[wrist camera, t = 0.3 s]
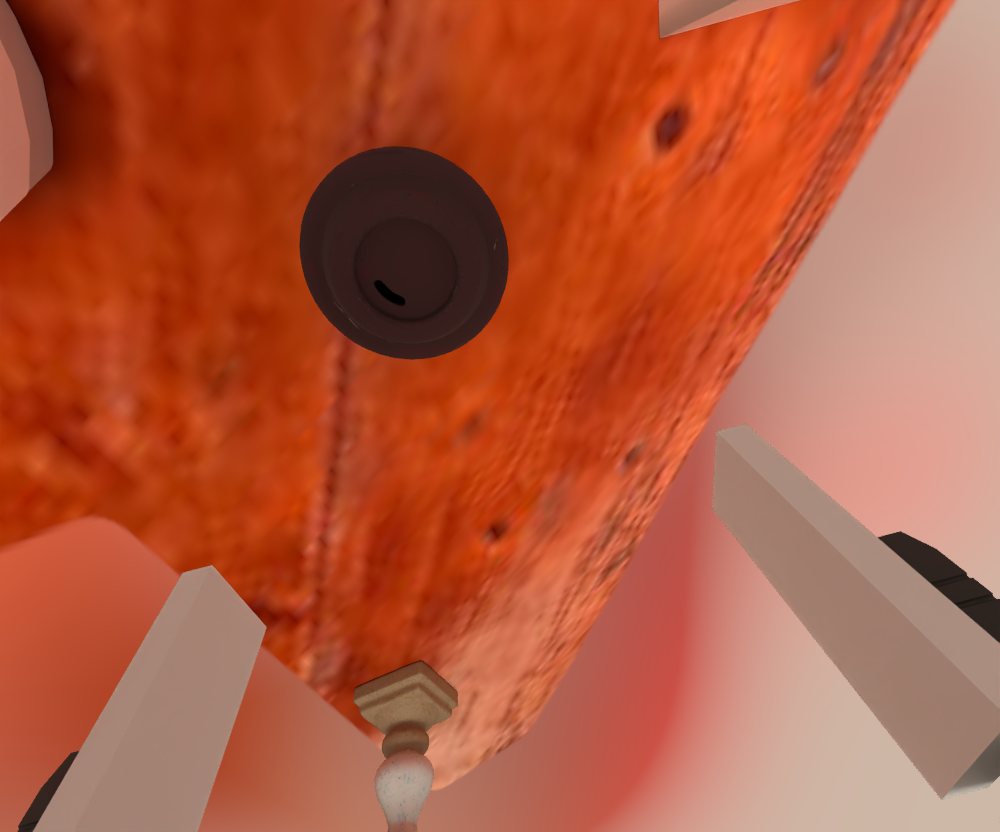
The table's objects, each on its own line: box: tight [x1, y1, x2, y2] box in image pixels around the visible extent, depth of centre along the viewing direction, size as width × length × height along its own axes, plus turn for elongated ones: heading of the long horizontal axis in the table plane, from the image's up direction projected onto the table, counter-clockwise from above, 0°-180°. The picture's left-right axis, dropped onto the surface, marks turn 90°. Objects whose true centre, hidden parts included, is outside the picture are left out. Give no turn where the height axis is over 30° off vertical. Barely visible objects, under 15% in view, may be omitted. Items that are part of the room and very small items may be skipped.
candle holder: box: [353, 661, 458, 832], centre depth 54 cm, size 11×11×24 cm
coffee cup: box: [300, 147, 509, 359], centre depth 26 cm, size 10×10×15 cm
